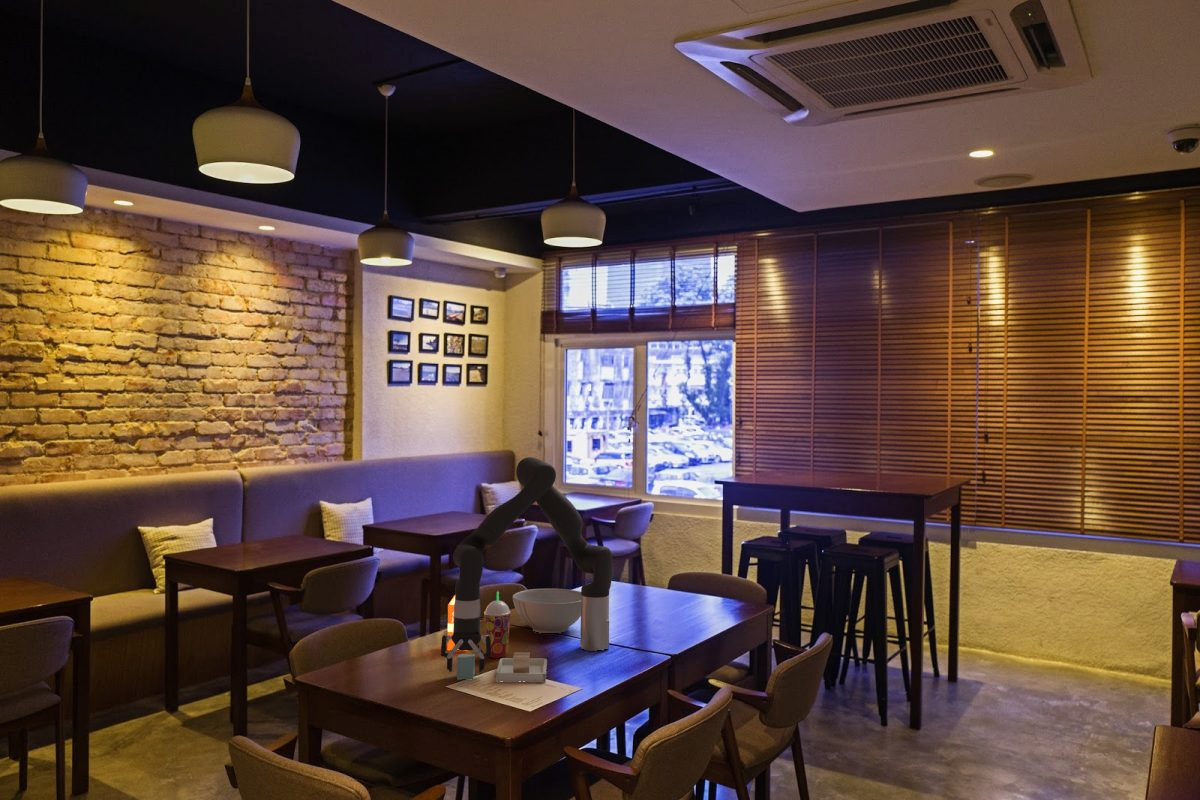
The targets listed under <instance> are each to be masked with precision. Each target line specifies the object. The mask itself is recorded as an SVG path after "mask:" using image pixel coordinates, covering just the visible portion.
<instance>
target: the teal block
mask: <svg viewBox="0 0 1200 800" xmlns="http://www.w3.org/2000/svg"><path fill="white" fill-rule="evenodd" d="M456 659H457V661H456V663H457V664H456V680H460V681H461V680H462V679H473V680H474V678H475V675H476V674H475V673H476V672H475V669H476V668H475V667H476V653H475V654H474V653H473V654H469V653H468V654H466V653H465V654H462V653H460V654H458V656H457V658H456ZM473 677H474V678H473ZM462 681H463V680H462Z"/></svg>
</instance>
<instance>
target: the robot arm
mask: <svg viewBox="0 0 1200 800" xmlns="http://www.w3.org/2000/svg"><path fill="white" fill-rule="evenodd" d="M515 471H516V472H515V474H516V475H515V476H516V478H517V481H518V483H519V484H520V485H521V486H522V487H523V488H522V489H521V490H520V491H519V492H518V493H517V494H516V495H514V496H513V497H512V498H510V499H509V500H506V501H505V502H504V503H503V502H502V503H501V504H499V505H498V506H496V507H495V508H494V509H492V511H490V512H489V513H488V515H486V517H485V518H483V520H482V521H481V523H480V524H479V525H478V526H477V528H476V529H475V530H474V531H473V532H471V533H470V534H468V536H466V537H465V538H463V540H462V541H461V542H460V543H459V544H458V545H457V546H456V547H455V549H454V552H453V555H452V557H453V558H452V559H453V562H454V564H455V565H456V566H458V567H459V576H458V579H456V582H455V587H454V591H455V592H454V596H455V603H454V628H453V635H448V633H444V634H443V635H442V637H441V647H440V648H441V649H440V656H441V657H444V658H446V669H447V670H448V671H449V673H451V672H453V668H454V667H453V666H454V665H453V664H454V662H453V659H454V655H455V653H456V652H458V651H457V650H458V649H459V650H460V651H459V652H465V651H464V650H467V651H466V652H472V651H474V653H475V654H477V655H478V657H479V661H478V662H479V663H478V664H479V665H478V673H482V672H483V671H484V669H485V665H486V664H485V663H486V661H485V659H486V658H491V657H490V656H491V635H490V634H488V635H485V634H484V635H482V634H481V632H480V631H481V629H480V628H481V612H482V611H481V602H480V601H481V599H480V597H481V596H480V595H481V594H480V589H481V588H480V587H481V585H480V583H481V579H482V574H483V570H484V555H483V552H485V550H486V549H487V548H490V547H492V546H494V545H495V544H496V543H497V542H498V541H499V540H500V539H501V537H502V536H503V535H504V534H505V533H506V531H507V530H508V529H509V528H510V526H511V525H512V524H513V523H515V521H516V520H517V519H518V518H519V517H520V516H522V515H523V514H524V513H525V512H526V511H527V510H528V509H529V508H531V506H533V505H534V504H535V503H536V504H537V505H538V507H539V508H540V510H541V512H542V513H543V514H544V516H545V518H546V519H547V521H548V522H549V524H550V525H551V527H552V528H553V529H554V531H555V532H556V534H557V536H559V537H560V539H561V541H562V542H563V544H564V545H565V547H566V548H567V549H568V552H569V554H570V555H571V557H572V559H573V561H574V563H575V566H576V567H577V568H578V569H579V570H580V571H581V572H583V573H586V574H591V575H593V578H592V581H591V582H589V583H586V584H583V585H582V586H581V590H580V592H581V616H580V639H579V641H580V643H579V644H580V647H581V648H580V647H579V648H580V649H581V650H583V649H584V651H589V652H598V651H597V650H602V649H609V650H610V589H611V587H612V580H613V579H612V577H613V562H614V561H613V560H614V559H613V554H612V551H611V549H610V548H609V547H607V546H604V545H595V544H590V543H589V542H587V541H586V540H585V538H584V537H583V535H582V532H583V528H584V527H583V525H584V523H583V518H582V516H581V514H580V513H579V511H578V510H577V508H576V507H575V505H574V504H573V503H572V502H571V500H569V498H567V496H565V495H564V494H563V493H562V492H561V491H560V490H558V489H557V488H556V487H555V486H554V484H555V481H556V479H557V471H556V469H555V467H554V466H553V465H551V464H550V463H548V462H546V461H543V460H541V459H539V458H537V457H532V456H528V457H524V458H522V459H521V460H520V461H519V462H518V463H517V466H516V470H515ZM450 639H452V641H453V642H454V644H455V646H454V647H453V648H452V650H451V651H450V650H449V652H448V651H447V646H448V642H449V640H450ZM480 641H482V642H483V643H484V644H485V652H484V651H483V650H482V648H481V646H480V645H479V643H480ZM602 651H603V650H602Z"/></svg>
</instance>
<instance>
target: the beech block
mask: <svg viewBox="0 0 1200 800" xmlns="http://www.w3.org/2000/svg"><path fill="white" fill-rule="evenodd" d="M530 655H531V652H520V651H519V652H516V651H515V652H513V658H514V659H513V673H529V670H530V657H531V656H530Z"/></svg>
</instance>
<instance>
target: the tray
mask: <svg viewBox="0 0 1200 800" xmlns="http://www.w3.org/2000/svg"><path fill="white" fill-rule="evenodd" d="M513 659H514V657H513V658H511V657H502V658H499V661H498V665H497V668H496V671H495V682H496V681H498V682H500V681H503V682H519V681H521V682H523V681H525V682H545V683H546V679H547V671H546V670H547V669H548V659H547V658H540V657H537V658H533V657H531V658H530V670H529V673H513Z"/></svg>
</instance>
